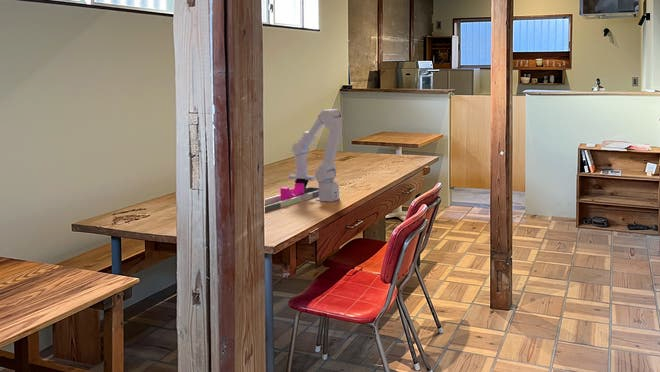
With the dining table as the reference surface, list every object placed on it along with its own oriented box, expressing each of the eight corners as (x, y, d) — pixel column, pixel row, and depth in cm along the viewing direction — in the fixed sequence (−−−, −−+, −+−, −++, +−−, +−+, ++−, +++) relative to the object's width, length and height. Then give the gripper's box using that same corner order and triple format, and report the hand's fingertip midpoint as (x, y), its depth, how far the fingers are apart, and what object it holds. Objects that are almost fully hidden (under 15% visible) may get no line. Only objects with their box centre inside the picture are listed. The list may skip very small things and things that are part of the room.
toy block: (294, 197, 347) (293, 182, 345) (304, 198, 344) (304, 183, 342) (276, 203, 334) (275, 187, 333) (287, 204, 331) (286, 188, 330)
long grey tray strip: (328, 193, 355) (327, 188, 355) (264, 212, 314) (264, 207, 314) (308, 191, 362) (308, 186, 362) (244, 209, 321) (244, 204, 321)
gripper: (317, 166, 344) (318, 193, 346) (294, 164, 352) (295, 191, 355) (309, 168, 338) (310, 196, 341) (285, 166, 346) (286, 193, 349)
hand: (302, 193), depth 347 cm, fingers closed
